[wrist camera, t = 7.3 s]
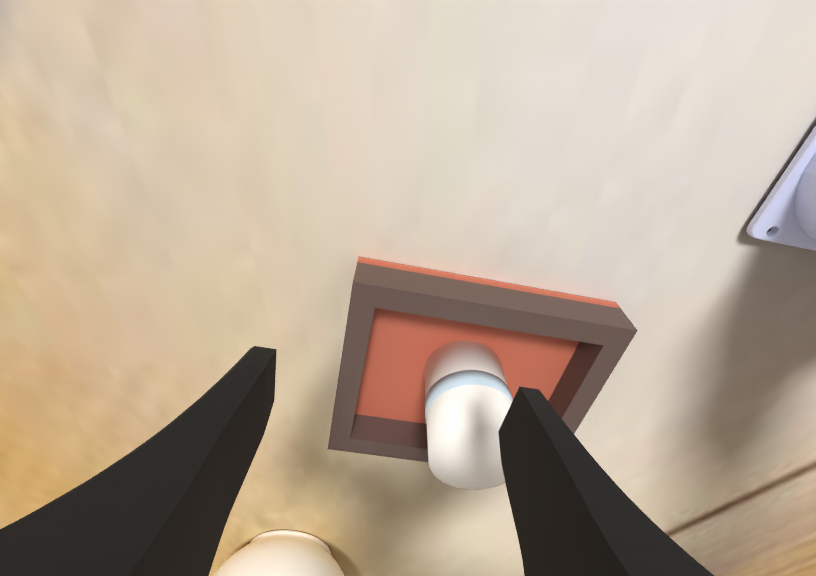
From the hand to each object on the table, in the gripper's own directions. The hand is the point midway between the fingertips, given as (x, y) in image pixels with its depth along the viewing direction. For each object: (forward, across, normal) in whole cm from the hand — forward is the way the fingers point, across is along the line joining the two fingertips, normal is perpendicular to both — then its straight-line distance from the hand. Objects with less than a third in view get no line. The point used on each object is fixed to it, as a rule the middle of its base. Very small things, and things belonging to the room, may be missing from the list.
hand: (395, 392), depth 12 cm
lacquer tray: (+10, -5, +7) cm, 13 cm away
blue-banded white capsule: (+9, -5, +7) cm, 13 cm away
